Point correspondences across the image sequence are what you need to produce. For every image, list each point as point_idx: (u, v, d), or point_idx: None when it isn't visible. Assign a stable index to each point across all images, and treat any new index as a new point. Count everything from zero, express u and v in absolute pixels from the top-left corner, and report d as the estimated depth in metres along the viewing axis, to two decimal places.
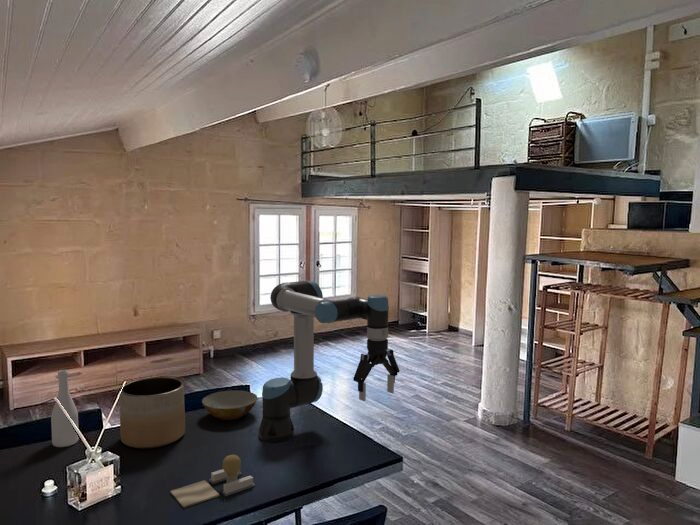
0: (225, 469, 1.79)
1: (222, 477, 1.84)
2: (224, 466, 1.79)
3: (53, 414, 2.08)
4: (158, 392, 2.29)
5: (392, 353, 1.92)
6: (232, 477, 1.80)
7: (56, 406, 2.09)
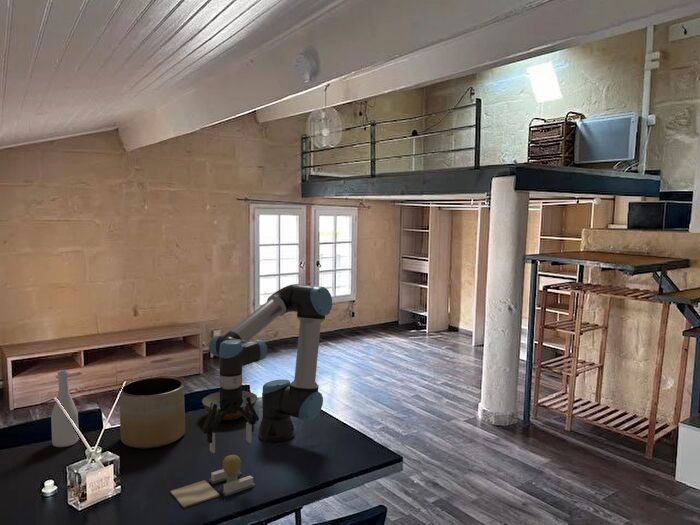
0: (225, 469, 1.79)
1: (222, 477, 1.84)
2: (224, 466, 1.79)
3: (53, 414, 2.08)
4: (158, 392, 2.29)
5: (249, 401, 1.82)
6: (232, 477, 1.80)
7: (56, 406, 2.09)
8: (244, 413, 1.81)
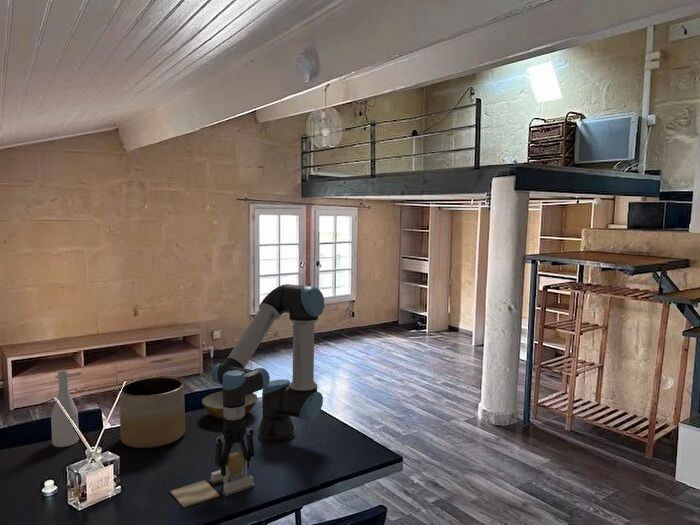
0: (228, 467, 1.80)
1: (222, 477, 1.84)
2: (227, 464, 1.80)
3: (53, 414, 2.08)
4: (158, 392, 2.29)
5: (251, 433, 1.84)
6: (235, 475, 1.81)
7: (56, 406, 2.09)
8: (243, 446, 1.82)
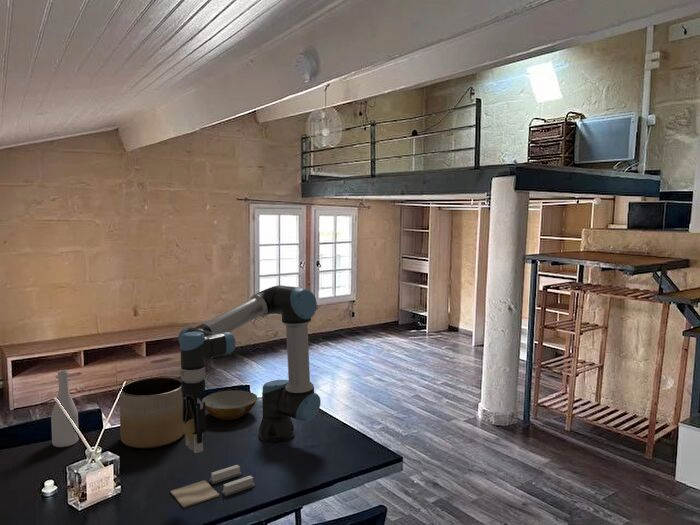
0: None
1: (222, 477, 1.84)
2: None
3: (53, 414, 2.08)
4: (158, 392, 2.29)
5: (197, 407, 1.67)
6: (188, 440, 1.72)
7: (56, 406, 2.09)
8: (193, 416, 1.69)
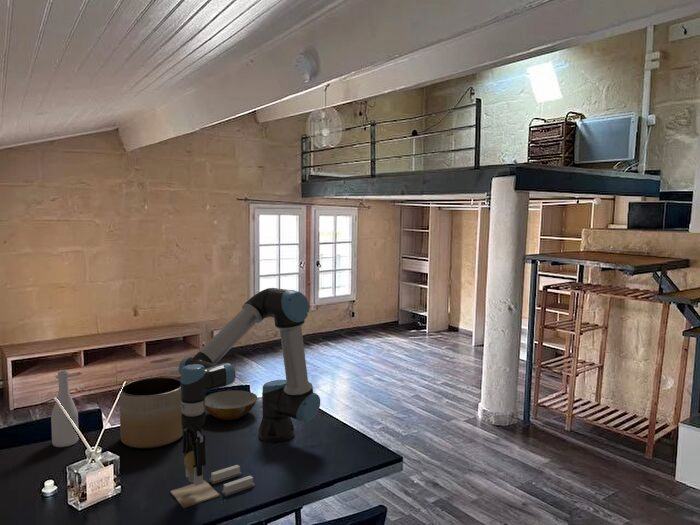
0: None
1: (222, 477, 1.84)
2: None
3: (53, 414, 2.08)
4: (158, 392, 2.29)
5: (197, 441, 1.67)
6: (188, 472, 1.73)
7: (56, 406, 2.09)
8: (193, 449, 1.70)
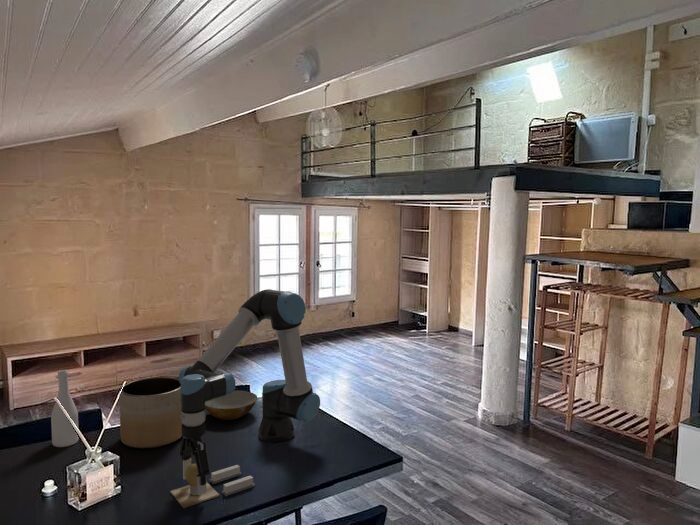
0: None
1: (222, 477, 1.84)
2: None
3: (53, 414, 2.08)
4: (158, 392, 2.29)
5: (197, 449, 1.67)
6: (190, 485, 1.73)
7: (56, 406, 2.09)
8: (195, 458, 1.69)
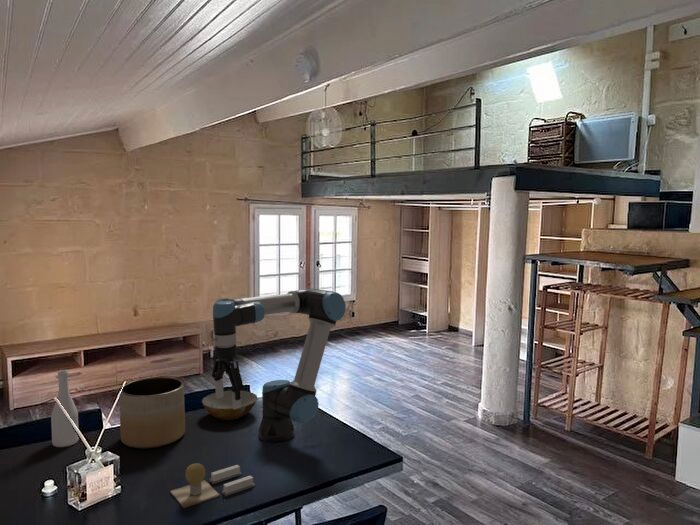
0: None
1: (222, 477, 1.84)
2: None
3: (53, 414, 2.08)
4: (158, 392, 2.29)
5: (231, 367, 1.81)
6: (190, 485, 1.73)
7: (56, 406, 2.09)
8: (229, 376, 1.83)
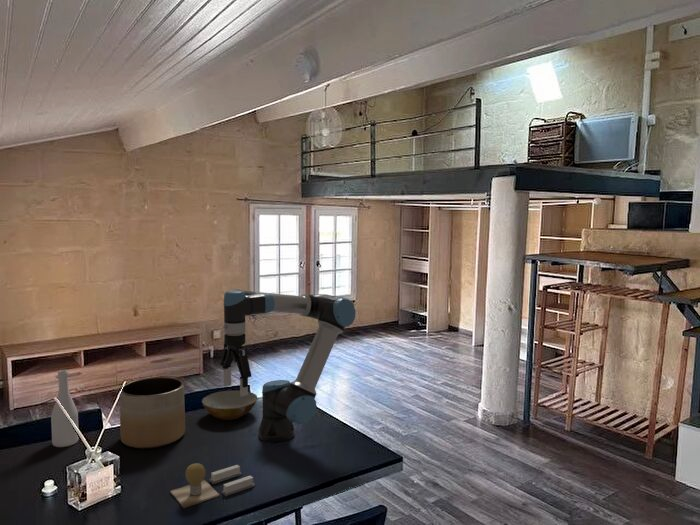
0: None
1: (222, 477, 1.84)
2: None
3: (53, 414, 2.08)
4: (158, 392, 2.29)
5: (240, 354, 1.85)
6: (190, 485, 1.73)
7: (56, 406, 2.09)
8: (237, 364, 1.87)
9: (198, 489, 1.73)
